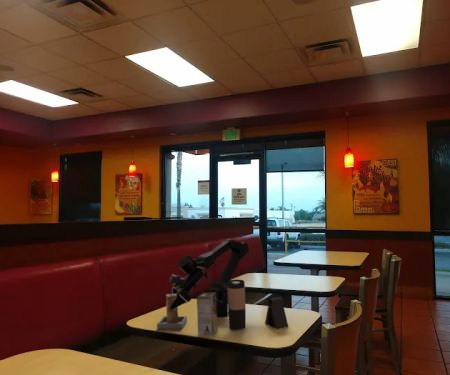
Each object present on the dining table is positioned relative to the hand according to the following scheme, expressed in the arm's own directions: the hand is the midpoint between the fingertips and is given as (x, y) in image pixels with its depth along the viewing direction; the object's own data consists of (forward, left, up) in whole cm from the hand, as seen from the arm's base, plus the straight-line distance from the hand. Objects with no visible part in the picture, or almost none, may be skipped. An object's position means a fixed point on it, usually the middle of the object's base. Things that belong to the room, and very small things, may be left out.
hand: (168, 306), depth 171 cm
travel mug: (-31, +2, -9) cm, 32 cm away
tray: (-1, -1, -9) cm, 9 cm away
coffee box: (-19, +9, -9) cm, 23 cm away
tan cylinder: (-1, -1, -8) cm, 8 cm away
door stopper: (-48, -1, -9) cm, 49 cm away
